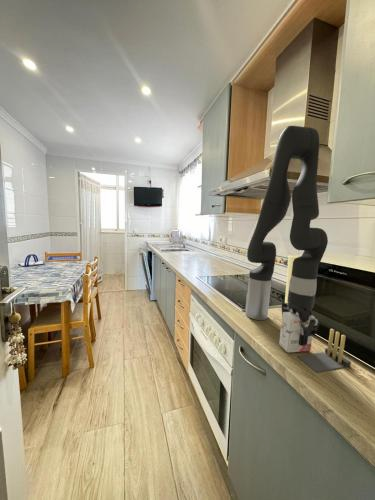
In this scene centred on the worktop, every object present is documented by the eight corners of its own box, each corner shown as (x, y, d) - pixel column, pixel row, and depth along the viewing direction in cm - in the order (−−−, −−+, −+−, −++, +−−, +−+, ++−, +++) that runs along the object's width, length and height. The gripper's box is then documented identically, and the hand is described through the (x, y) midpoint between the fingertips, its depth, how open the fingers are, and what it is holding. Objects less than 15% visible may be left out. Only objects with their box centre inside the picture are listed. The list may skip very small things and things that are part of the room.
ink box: (301, 342, 72) (305, 310, 71) (311, 351, 68) (316, 317, 66) (278, 344, 71) (282, 311, 69) (287, 353, 66) (291, 317, 65)
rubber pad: (297, 356, 65) (297, 355, 65) (322, 353, 68) (322, 352, 68) (316, 372, 59) (316, 371, 59) (343, 367, 61) (343, 366, 61)
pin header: (322, 353, 68) (326, 327, 67) (328, 352, 69) (332, 326, 67) (343, 367, 61) (348, 338, 60) (350, 366, 62) (354, 338, 61)
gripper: (276, 284, 72) (271, 329, 75) (310, 299, 59) (303, 355, 61) (294, 283, 74) (289, 328, 77) (331, 298, 61) (323, 352, 63)
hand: (295, 339), depth 69 cm, fingers closed on ink box, 5 cm apart
